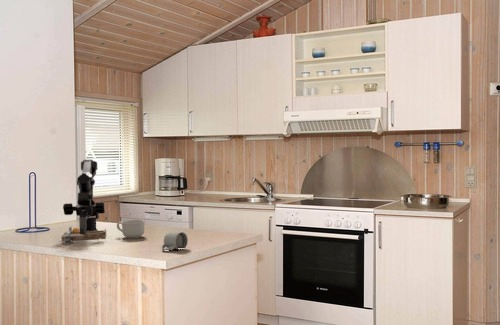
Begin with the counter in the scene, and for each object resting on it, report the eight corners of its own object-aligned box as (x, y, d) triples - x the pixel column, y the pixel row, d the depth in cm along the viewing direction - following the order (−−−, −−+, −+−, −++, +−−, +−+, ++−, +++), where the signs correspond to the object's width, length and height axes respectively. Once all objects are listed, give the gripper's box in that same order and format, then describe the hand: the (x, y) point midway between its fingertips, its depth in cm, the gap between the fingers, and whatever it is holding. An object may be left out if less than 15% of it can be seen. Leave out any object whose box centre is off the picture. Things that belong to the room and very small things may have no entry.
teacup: (149, 236, 260) (148, 220, 259) (135, 240, 250) (135, 223, 249) (126, 234, 265) (125, 218, 265) (112, 238, 256) (111, 222, 255)
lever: (62, 237, 243) (62, 218, 243) (67, 231, 258) (66, 214, 258) (86, 236, 245) (85, 217, 245) (89, 230, 260) (88, 213, 260)
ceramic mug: (174, 246, 233) (173, 229, 233) (188, 248, 228) (187, 230, 228) (157, 251, 224) (156, 233, 224) (171, 253, 220) (170, 235, 219)
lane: (61, 240, 252) (61, 234, 252) (64, 237, 261) (64, 231, 261) (105, 238, 256) (105, 232, 256) (106, 235, 265) (106, 229, 265)
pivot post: (61, 244, 242) (60, 238, 242) (62, 242, 247) (62, 236, 247) (72, 243, 243) (72, 237, 243) (73, 241, 248) (73, 235, 248)
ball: (77, 233, 260) (77, 226, 260) (80, 234, 257) (80, 227, 257) (71, 234, 258) (71, 227, 258) (74, 235, 255) (73, 228, 255)
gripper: (63, 186, 252) (60, 212, 242) (103, 185, 256) (102, 211, 245) (65, 201, 260) (63, 227, 250) (105, 200, 264) (104, 225, 253)
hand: (83, 222), depth 249 cm, fingers closed
